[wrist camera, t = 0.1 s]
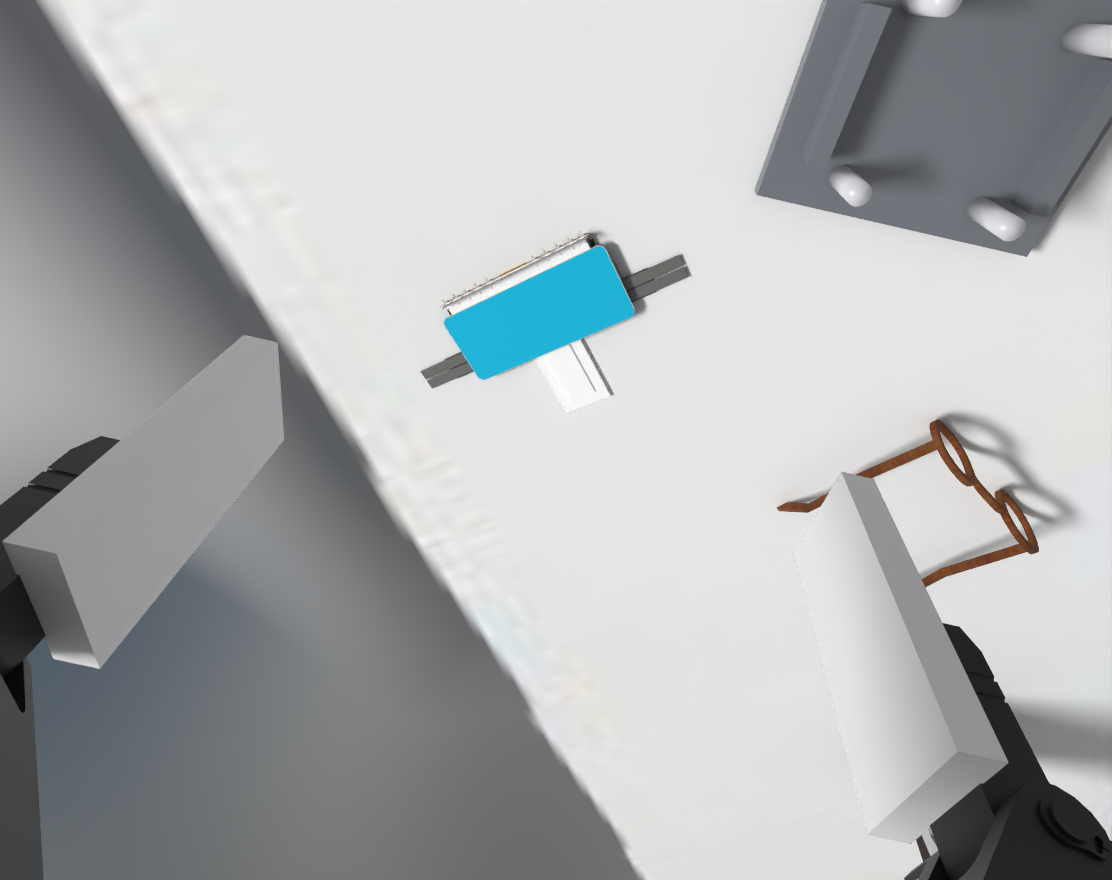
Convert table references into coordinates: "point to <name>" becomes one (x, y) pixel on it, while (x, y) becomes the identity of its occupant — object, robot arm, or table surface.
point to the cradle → (946, 114)
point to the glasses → (967, 480)
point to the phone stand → (547, 318)
